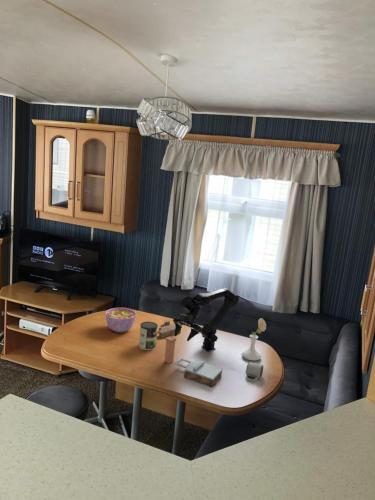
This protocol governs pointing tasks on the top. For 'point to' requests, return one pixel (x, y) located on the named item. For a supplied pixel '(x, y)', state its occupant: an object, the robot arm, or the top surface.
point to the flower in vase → (252, 352)
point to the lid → (200, 368)
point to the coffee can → (148, 335)
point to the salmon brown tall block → (169, 349)
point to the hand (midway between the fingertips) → (181, 338)
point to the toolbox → (202, 378)
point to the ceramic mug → (254, 371)
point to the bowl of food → (120, 319)
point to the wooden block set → (167, 329)
